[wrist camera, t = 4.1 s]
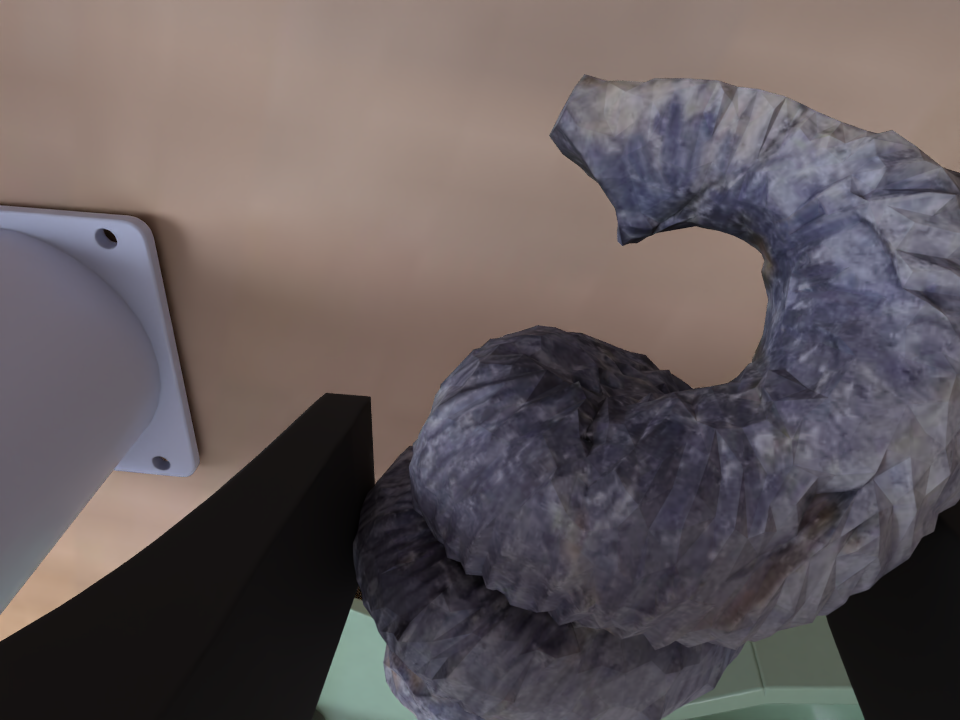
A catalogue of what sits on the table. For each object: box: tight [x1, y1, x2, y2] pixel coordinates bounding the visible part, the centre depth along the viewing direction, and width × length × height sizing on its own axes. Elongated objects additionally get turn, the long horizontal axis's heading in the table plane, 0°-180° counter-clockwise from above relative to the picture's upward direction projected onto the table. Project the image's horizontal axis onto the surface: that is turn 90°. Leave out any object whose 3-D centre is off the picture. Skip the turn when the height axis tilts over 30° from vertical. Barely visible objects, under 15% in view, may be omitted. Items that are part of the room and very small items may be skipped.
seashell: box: [353, 74, 960, 720], centre depth 9 cm, size 5×5×10 cm
